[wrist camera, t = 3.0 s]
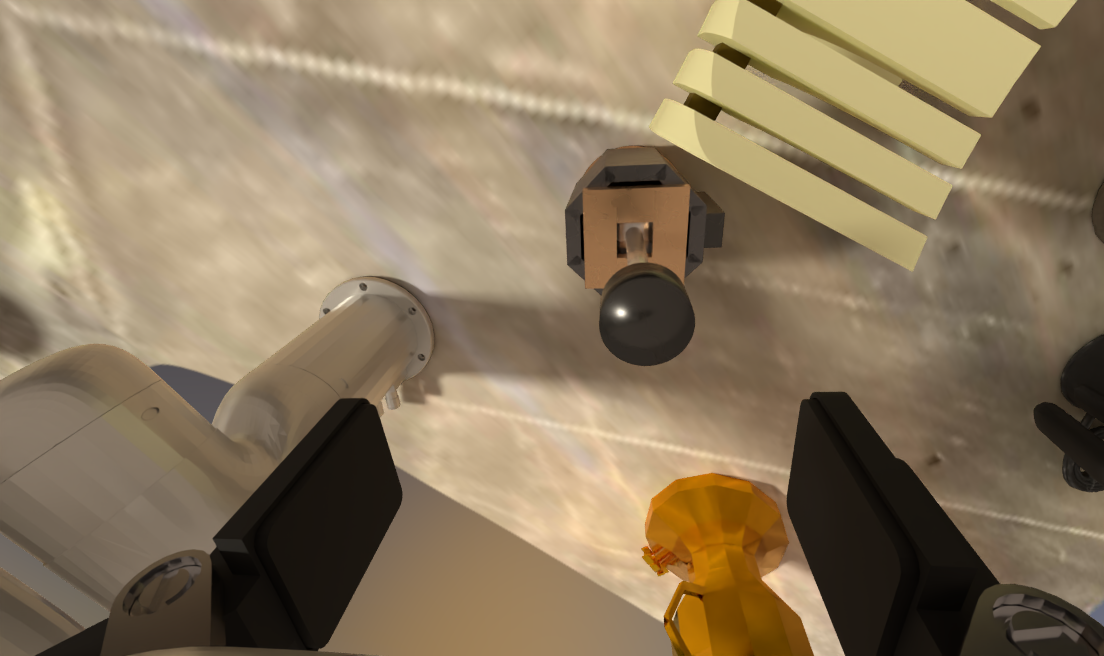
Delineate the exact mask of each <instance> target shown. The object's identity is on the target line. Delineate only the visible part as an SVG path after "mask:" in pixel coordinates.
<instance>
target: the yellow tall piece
mask: <svg viewBox="0 0 1104 656" xmlns="http://www.w3.org/2000/svg"><path fill="white" fill-rule="evenodd" d="M645 534H646V538H647V541H648V543H649V545H650V547H651V549H652V551H651V550H650V549H649V548H648V546H646V547H644V548H641V549H642V551H643V552H644V556H642V558H643V559H644V560H645V561H646V563H647V564H648V565H649V564H650V567H651V568H652V569H653V570H654V571H655V572H657V575H658V576H661V575H664V574H665V573H668V572H669V571H671V572H672V573H673V574H675V575H676V576H678V577H679V578H680V579H682V580H684V581H682V582H681V583H679V585H678V587H677V589H676V591H675V593H674V595H673V598H672V600H671V602H670V604H669V606H668V608H667V610H666V612H665V615H664V627H665V629H666V631H667V634H668V636H669V638H670V640H671V644H672V654H673V656H814V654H813V651H812V649H811V646H810V643H809V640H808V637H807V635H806V632H805V629H804V626H803V623H802V620H801V618H800V617H799V616H798V615H797V614H796V613H795V612H794V611H793V610H792V609H791V608H790V607H789V606H788V605H787V604H786V603H785V602H784V601H783V600H782V599H781V598H780V597H779V596H778V595H777V594H776V593H775V592H774V591H773V590H772V589H771V588H770V587H769V586H768V585H767V584H766V583H765V582H763V581H762V578H761V577H763V576H765V575H766V574H768V573H770V572H771V571H773V570H774V569H776V568H778V565H779V563H780V561H781V559H782V557H783V555H784V553H785V550H786V548H787V546H788V544H789V541H788V538H787V534H786V531H785V527H784V524H783V521H782V517H781V514H780V512H779V509H778V507H777V504H776V502H774V501H773V500H772V499H771V498H769V497H768V496H767V495H766V494H764V493H763V492H762V491H761V490H759V489H758V488H757V487H756V486H754V485H753V484H752V483H751V482H749V481H745V480H741V479H737V478H732V477H728V476H724V475H719V474H715V473H709V474H703V475H698V476H693V477H687V478H682V479H677V480H675V481H674V482H672V483H671V484H670V485H669V486H667V487H666V488H665V489H663V490H662V491H661V492H660V493H658V494H657V495H656V496H655V497H653V498H652V499H651V503H650V507H649V511H648V514H647V518H646V522H645ZM651 555H654V556H651ZM667 569H668V570H669V571H668V570H667ZM687 581H688V582H687ZM683 594H686V595H685V596H684V598H683V600H682V602H681V603H680V605H679V607H678V608H677V606H678V604H679V602H680V599H681V597H682V595H683ZM676 608H677V611H676ZM675 611H676V614H675V617H674V620H673V621H672V617H673V615H674V613H675Z"/></svg>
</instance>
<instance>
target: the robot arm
mask: <svg viewBox="0 0 1104 656" xmlns="http://www.w3.org/2000/svg"><path fill="white" fill-rule="evenodd" d="M414 308H415V309H416V310H415V309H414ZM433 348H434V332H433V326H432V324H431V321H430V318H429V316H428V314H427V313H426V311H425V309H424V308H423V306H422V305H421V304H420V303H419V302H418V300H417V299H416V298H415V297H414V296H413V295H411V294H410V293H409V292H408V291H407V290H405V289H404V288H402V287H400V286H399V285H397V284H395V283H392V282H390V281H387V280H385V279H380V278H376V277H358V278H352V279H350V280H347V281H345V282H343V283H341V284H340V285H338V286H337V287H335V288H334V289H333V290H332V291H331V292H330V293H328V295H327V296H326V298H325V299H324V301H323V303H322V305H321V308H320V314H319V320H318V321H317V322H315V323H314V324H313V325H311V326H310V327H309V328H308V329H306V330H305V331H304V332H302V333H301V334H300V335H298V336H297V337H296V338H294V339H293V340H292V341H291V342H289V343H288V344H287V345H285V346H284V347H283V348H281V349H280V350H279V351H277V352H276V353H275V354H274V355H272V356H271V357H270V358H268V359H267V360H266V361H264V362H263V363H262V364H260V365H259V366H258V367H257V368H255V369H254V370H252V371H251V372H249V373H248V374H247V375H246V376H244V377H243V378H242V379H241V380H239V381H238V382H237V383H236V384H235V385H234V386H233V387H232V388H231V389H230V391H229V392H228V393H227V394H226V396H225V397H224V399H223V400H222V402H221V404H220V406H219V408H218V410H217V412H216V414H215V417H214V420H213V423H212V425H211V424H210V423H209V422H208V421H207V420H206V419H205V418H204V417H203V416H201V415H200V414H199V413H198V412H197V411H196V410H195V409H194V408H193V407H192V406H191V405H189V404H188V403H187V402H186V401H185V400H184V399H183V398H182V397H181V396H180V395H179V394H178V393H177V392H175V391H174V390H173V389H172V388H171V387H170V386H169V385H168V384H167V383H165V381H163V380H162V379H161V378H160V377H159V376H158V375H157V374H156V373H155V372H154V371H152V370H151V369H150V368H149V367H148V366H147V365H145V364H144V363H143V362H142V361H140V360H139V359H138V358H136V357H135V356H133V355H132V354H130V353H128V352H127V351H125V350H123V349H120V348H117V347H115V346H111V345H106V344H87V345H80V346H76V347H72V348H68V349H65V350H62V351H59V352H57V353H54V354H52V355H50V356H47V357H45V358H43V359H40V360H38V361H36V362H34V363H32V364H30V365H28V366H26V367H24V368H22V369H20V370H18V371H16V372H14V373H12V374H11V375H9V376H7V377H5V378H4V379H2V380H0V533H1V534H2V535H4V536H5V537H7V538H8V539H9V540H11V541H12V542H14V543H15V544H17V545H18V546H19V547H21V548H22V549H24V550H25V551H26V552H28V553H29V554H31V555H32V556H34V557H35V558H36V559H38V560H39V561H41V562H42V563H43V566H45V567H46V568H48V569H49V570H50V571H52V572H53V573H55V574H56V575H58V576H59V577H60V578H62V579H63V580H65V581H66V582H68V583H69V584H70V585H72V586H73V587H74V588H76V589H77V590H79V591H80V592H82V593H83V594H84V595H86V596H87V597H88V598H90V599H91V600H93V601H94V602H96V603H97V604H99V605H100V606H102V607H103V608H105V609H106V610H108V611H109V612H110V614H109V618H107V619H105V620H103V621H101V622H99V623H97V624H96V625H94V626H91V627H89V628H87V629H85V628H84V627H83V626H82V625H80V624H79V623H78V622H77V621H75V620H74V619H73V618H72V617H70V616H69V615H68V614H66V613H65V612H64V611H62V610H61V609H60V608H58V607H57V606H55V605H54V604H53V603H51V602H50V601H48V600H47V599H46V598H44V597H43V596H41V595H40V594H38V593H37V592H35V591H34V590H33V589H31V588H30V587H28V586H27V585H26V584H24V583H22V582H21V581H20V580H18V579H17V578H16V577H14V576H13V575H11V574H10V573H8V572H7V571H6V570H4V569H3V568H1V567H0V656H376V655H363V654H348V653H334V652H319V651H318V649H319V648H323V647H324V646H325V645H326V644H327V643H328V642H329V640H330V638H331V636H332V634H333V633H334V630H335V629H336V627H337V625H338V623H339V621H340V619H341V617H342V615H343V614H344V612H345V610H346V608H347V606H348V604H349V602H350V600H351V598H352V596H353V594H354V593H355V591H356V589H357V587H358V585H359V583H360V581H361V579H362V577H363V576H364V574H365V572H366V570H367V568H368V566H369V564H370V562H371V560H372V559H373V557H374V555H375V553H376V551H377V549H378V547H379V545H380V543H381V541H382V540H383V538H384V536H385V534H386V532H387V530H388V528H389V526H390V524H391V522H392V521H393V519H394V517H395V515H396V513H397V511H398V509H399V507H400V505H401V501H402V488H401V485H400V482H399V479H398V476H397V472H396V469H395V466H394V462H393V459H392V456H391V453H390V449H389V446H388V443H387V440H386V436H385V433H384V430H383V427H382V423H381V420H380V417H381V416H382V415H383V414H384V410H383V406H382V402H381V400H382V399H383V397H384V396H386V402H387V406H388V409H391V410H393V409H397V408H398V407H400V400H399V396H398V394H397V390H396V389H398V387H399V385H400V384H401V383H402V382H403V381H406V380H409V379H411V378H412V377H414V376H416V375H417V374H418V373H419V372H420V371H421V370H423V368H424V367H425V365H426V364H427V363H428V361H429V359H430V357H431V355H432V352H433ZM787 509H788V513H789V516H790V519H791V521H792V524H793V526H794V529H795V531H796V534H797V536H798V539H799V541H800V544H801V546H802V549H803V551H804V554H805V556H806V559H807V561H808V564H809V566H810V569H811V571H812V574H813V576H814V579H815V581H816V584H817V586H818V589H819V591H820V594H821V596H822V599H823V601H824V604H825V606H826V609H827V611H828V614H829V616H830V619H831V621H832V624H833V626H834V629H835V631H836V634H837V636H838V639H839V641H840V644H841V646H842V649H843V651H844V654H845V656H1104V626H1102V625H1101V624H1100V623H1099V622H1097V621H1096V620H1095V619H1093V618H1092V617H1090V616H1089V615H1088V614H1086V613H1085V612H1084V611H1082V610H1081V609H1080V608H1078V607H1076V606H1074V605H1072V604H1070V603H1068V602H1067V601H1065V600H1063V599H1061V598H1059V597H1057V596H1055V595H1052V594H1050V593H1047V592H1044V591H1042V590H1039V589H1036V588H1033V587H1028V586H1023V585H1018V584H1000V583H999V582H998V580H997V579H996V578H995V577H994V575H993V574H992V573H991V571H990V570H989V569H988V567H987V566H986V565H985V564H984V562H983V561H982V560H981V558H980V557H979V556H978V555H977V553H976V552H975V551H974V549H973V548H972V547H971V545H970V544H969V543H968V542H967V540H966V539H965V538H964V536H963V535H962V534H961V532H960V531H959V530H958V529H957V527H956V526H955V525H954V523H953V522H952V521H951V520H950V518H949V517H948V516H947V514H946V513H945V512H944V510H943V509H942V508H941V507H940V505H939V504H938V503H937V501H936V500H935V499H934V498H933V496H932V495H931V494H930V492H929V491H928V490H927V488H926V487H925V486H924V485H923V483H922V482H921V481H920V479H919V478H918V477H917V475H916V474H915V473H914V472H913V470H912V469H911V468H910V467H909V466H908V465H907V464H906V463H905V462H904V461H903V460H901V459H898V458H895V456H894V455H893V454H892V452H891V451H890V450H889V448H888V447H887V446H886V444H885V443H884V442H883V440H882V439H881V438H880V436H879V435H878V434H877V432H876V431H875V430H874V428H873V427H872V426H871V425H870V423H869V422H868V421H867V419H866V418H865V417H864V415H863V414H862V413H861V411H860V410H859V409H858V407H857V406H856V405H855V403H854V402H853V401H852V399H851V398H850V397H849V395H848V394H847V393H845V392H814V393H812V395H811V396H810V399H804V400H802V402H801V405H800V411H799V418H798V425H797V432H796V438H795V445H794V452H793V458H792V465H791V472H790V479H789V485H788V492H787Z"/></svg>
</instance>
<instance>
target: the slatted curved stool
mask: <svg viewBox="0 0 1104 656" xmlns="http://www.w3.org/2000/svg"><path fill="white" fill-rule="evenodd" d="M990 1H992V2H994V3H995V4H997V5H999V6H1001V7H1002V8H1004V9H1006V10H1008V11H1009V12H1011V13H1013V14H1015V15H1016V16H1018V17H1020V18H1021V19H1023V20H1025V21H1026V22H1028V23H1030V24H1032V25H1033V26H1035V27H1037V28H1038V29H1047V28H1053V27H1056V26H1057V25H1058V24H1059V22H1060V21H1061V20H1062V19H1063V17H1064V16H1065V15H1066V14H1067V12H1068V11H1069V10H1070V9H1071V7H1072V6H1073V5H1074V4H1075V2H1076V1H1077V0H990ZM697 36H698V37H700V38H702V39H703V40H705V41H707V42H709V43H711V44H712V45H714V46H715V48H714V50H713V52H711V51H708V50H704V49H694V50H692V51H690V52H689V53H688V55H687V57H686V59H685V61H684V63H683V65H682V67H681V68H680V70H679V72H678V74H677V76H676V78H675V80H674V82H673V84H674V85H676V86H678V87H680V88H681V89H683V90H685V91H687V92H689V93H690V94H689V96H688V97H687V99H686V101H685V103H684V105H682V104H680V103H678V102H676V101H673V100H671V99H664V100H663V102H662V104H661V106H660V108H659V109H658V111H657V113H656V115H655V117H654V118H653V120H652V122H651V124H650V126H649V128H650V129H651V130H652V131H653V132H655V133H656V134H658V135H659V136H661V137H663V138H664V139H666V140H668V141H670V142H671V143H673V144H675V145H677V146H678V147H680V148H682V149H684V150H686V151H687V152H689V153H691V154H693V155H695V156H696V157H698V158H700V159H702V160H704V161H706V162H707V163H709V164H711V165H713V166H715V167H717V168H719V169H720V170H722V171H724V172H726V173H728V174H730V175H732V176H734V177H736V178H737V179H739V180H741V181H743V182H745V183H747V184H749V185H751V186H752V187H754V188H756V189H758V190H760V191H762V192H764V193H766V194H767V195H769V196H771V197H773V198H775V199H777V200H779V201H781V202H782V203H784V204H786V205H788V206H790V207H792V208H794V209H796V210H797V211H799V212H801V213H803V214H805V215H807V216H809V217H811V218H813V219H814V220H816V221H818V222H820V223H822V224H824V225H826V226H828V227H829V228H831V229H833V230H835V231H837V232H839V233H841V234H843V235H844V236H846V237H848V238H850V239H852V240H854V241H856V242H858V243H859V244H861V245H863V246H865V247H867V248H869V249H871V250H873V251H874V252H876V253H878V254H880V255H882V256H884V257H886V258H888V259H890V260H891V261H893V262H895V263H897V264H899V265H901V266H903V267H905V268H906V269H908V270H910V271H912V272H913V270H914V267H915V265H916V263H917V260H918V258H919V256H920V253H921V251H922V249H923V246H924V244H925V242H926V240H927V236H925V235H923V234H922V233H920V232H918V231H916V230H914V229H912V228H910V227H909V226H907V225H905V224H903V223H901V222H899V221H898V220H896V219H894V218H892V217H890V216H888V215H887V214H885V213H883V212H881V211H879V210H877V209H875V208H874V207H872V206H870V205H868V204H866V203H864V202H863V201H861V200H859V199H857V198H855V197H853V196H852V195H850V194H848V193H846V192H844V191H842V190H840V189H839V188H837V187H835V186H833V185H831V184H829V183H828V182H826V181H824V180H822V179H820V178H818V177H816V176H815V175H813V174H811V173H809V172H807V171H805V170H804V169H802V168H800V167H798V166H796V165H794V164H793V163H791V162H789V161H787V160H785V159H783V158H781V157H780V156H778V155H776V154H774V153H772V152H770V151H769V150H767V149H765V148H763V147H761V146H759V145H758V144H756V143H754V142H752V141H750V140H748V139H746V138H745V137H743V136H741V135H739V134H737V133H735V132H734V131H732V130H730V129H728V128H726V127H724V126H722V125H721V124H719V123H717V122H715V120H716V118H717V116H718V114H719V113H720V111H721V110H722V111H724V112H725V113H727V114H729V115H731V116H733V117H735V118H736V119H738V120H740V121H743V122H745V123H747V124H749V125H751V126H754V127H756V128H758V129H760V130H762V131H764V132H766V133H768V134H770V135H772V136H774V137H776V138H778V139H780V140H782V141H784V142H786V143H788V144H790V145H792V146H793V147H795V148H797V149H799V150H801V151H803V152H805V153H807V154H809V155H811V156H812V157H814V158H816V159H818V160H820V161H822V162H824V163H826V164H828V165H829V166H831V167H833V168H835V169H837V170H839V171H841V172H842V173H844V174H846V175H848V176H850V177H852V178H854V179H855V180H857V181H859V182H861V183H863V184H865V185H867V186H868V187H870V188H872V189H874V190H876V191H878V192H880V193H881V194H883V195H885V196H887V197H889V198H891V199H892V200H894V201H896V202H898V203H900V204H902V205H903V206H905V207H907V208H909V209H911V210H913V211H915V212H917V213H920V214H923V215H925V216H928V217H930V218H933V219H935V220H936V218H937V216H938V214H939V212H940V210H941V208H942V206H943V204H944V202H945V200H946V198H947V196H948V194H949V192H950V190H951V188H952V185H951V184H949V183H947V182H945V181H943V180H942V179H940V178H938V177H936V176H934V175H933V174H931V173H929V172H927V171H926V170H924V169H922V168H920V167H918V166H917V165H915V164H913V163H911V162H909V161H908V160H906V159H904V158H902V157H900V156H899V155H897V154H895V153H893V152H891V151H890V150H888V149H886V148H884V147H883V146H881V145H879V144H877V143H875V142H874V141H872V140H870V139H868V138H866V137H865V136H863V135H861V134H859V133H857V132H856V131H854V130H852V129H850V128H848V127H847V126H845V125H843V124H841V123H839V122H838V121H836V120H834V119H832V118H831V117H829V116H827V115H825V114H823V113H822V112H820V111H818V110H816V109H814V108H813V107H811V106H809V105H807V104H805V103H804V102H802V101H800V100H798V99H796V98H795V97H793V96H791V95H789V94H788V93H786V92H784V91H782V90H780V89H779V88H777V87H775V86H773V85H771V84H770V83H768V82H766V81H764V80H762V79H761V78H759V77H757V76H755V75H753V74H752V73H750V72H748V71H746V70H745V68H746V67H747V65H750V66H752V67H753V68H755V69H757V70H759V71H761V72H762V73H764V74H766V75H768V76H770V77H771V78H774V79H777V80H779V81H782V82H784V83H786V84H789V85H791V86H793V87H796V88H798V89H800V90H802V91H804V92H806V93H808V94H810V95H812V96H815V97H817V98H819V99H821V100H823V101H825V102H827V103H828V104H830V105H832V106H834V107H836V108H838V109H840V110H842V111H844V112H846V113H848V114H850V115H852V116H853V117H855V118H857V119H859V120H861V121H863V122H865V123H867V124H869V125H870V126H872V127H874V128H876V129H878V130H880V131H881V132H883V133H885V134H887V135H889V136H891V137H893V138H894V139H896V140H898V141H900V142H902V143H903V144H905V145H907V146H909V147H911V148H913V149H914V150H916V151H918V152H920V153H922V154H923V155H925V156H927V157H929V158H931V159H932V160H934V161H936V162H938V163H940V164H942V165H947V166H951V167H956V168H961V169H962V168H963V166H964V164H965V162H966V161H967V159H968V157H969V155H970V154H971V152H972V150H973V148H974V147H975V145H976V143H977V142H978V140H979V138H980V136H981V134H979V133H977V132H976V131H974V130H972V129H971V128H969V127H967V126H965V125H964V124H962V123H960V122H958V121H957V120H955V119H953V118H951V117H950V116H948V115H946V114H944V113H943V112H941V111H939V110H937V109H936V108H934V107H932V106H930V105H929V104H927V103H925V102H923V101H922V100H920V99H918V98H916V97H915V96H913V95H911V94H910V93H908V92H906V91H904V90H903V89H901V88H899V87H898V86H899V85H900V83H901V82H902V81H903V79H904V80H905V81H907V82H909V83H911V84H913V85H914V86H916V87H918V88H920V89H922V90H924V91H925V92H927V93H929V94H931V95H933V96H934V97H936V98H938V99H940V100H941V101H943V102H945V103H947V104H949V105H950V106H952V107H954V108H956V109H957V110H959V111H961V112H963V113H964V114H966V115H968V116H975V117H991V118H992V117H993V115H994V114H995V112H996V111H997V109H998V108H999V106H1000V105H1001V103H1002V102H1003V100H1004V99H1005V97H1006V96H1007V94H1008V93H1009V91H1010V90H1011V88H1012V86H1013V85H1014V83H1015V82H1016V81H1017V79H1018V78H1019V76H1020V75H1021V74H1022V72H1023V71H1024V69H1025V68H1026V67H1027V65H1028V64H1029V62H1030V61H1031V60H1032V58H1033V57H1034V55H1035V54H1036V53H1037V51H1038V50H1039V48H1040V47H1041V46H1040V45H1038V44H1037V43H1035V42H1033V41H1032V40H1030V39H1029V38H1027V37H1025V36H1024V35H1022V34H1020V33H1019V32H1017V31H1015V30H1014V29H1012V28H1010V27H1009V26H1007V25H1005V24H1004V23H1002V22H1000V21H999V20H997V19H995V18H994V17H992V16H990V15H989V14H987V13H985V12H984V11H982V10H980V9H979V8H977V7H975V6H974V5H972V4H971V3H969V2H967V1H966V0H715V3H713V4H712V6H711V8H710V11H709V13H708V15H707V17H706V19H705V21H704V23H703V25H702V27H701V29H700V31H699V33H698V35H697Z"/></svg>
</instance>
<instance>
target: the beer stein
mask: <svg viewBox="0 0 1104 656" xmlns="http://www.w3.org/2000/svg"><path fill="white" fill-rule="evenodd" d="M1092 222H1093V226H1094V230H1095V234H1096V235H1097V237H1098V238H1099V239H1100V240H1101V241H1102V242H1103V243H1104V183H1103V185H1102V186H1101V188H1100V189H1099V191H1098V194H1097V197H1096V200H1095V203H1094V206H1093V209H1092Z"/></svg>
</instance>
